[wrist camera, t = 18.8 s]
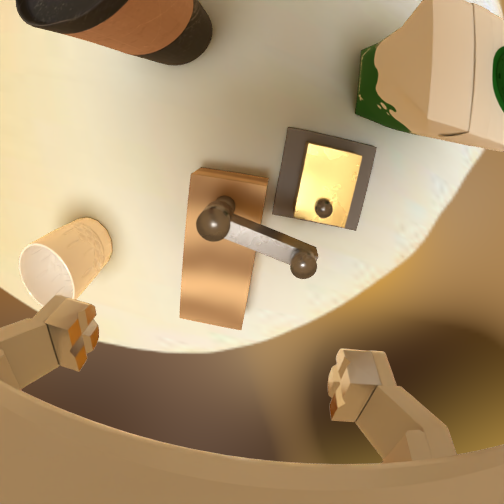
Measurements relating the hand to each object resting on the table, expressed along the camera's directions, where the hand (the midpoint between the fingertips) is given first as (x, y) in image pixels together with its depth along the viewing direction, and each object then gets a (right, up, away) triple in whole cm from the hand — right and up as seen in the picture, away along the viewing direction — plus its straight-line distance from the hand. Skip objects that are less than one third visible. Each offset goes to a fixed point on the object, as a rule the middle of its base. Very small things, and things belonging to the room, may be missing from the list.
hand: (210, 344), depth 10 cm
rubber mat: (+9, +10, +22) cm, 26 cm away
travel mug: (-6, +25, +17) cm, 31 cm away
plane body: (-2, +4, +26) cm, 26 cm away
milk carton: (+15, +19, +18) cm, 30 cm away
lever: (+2, +5, +17) cm, 18 cm away
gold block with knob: (+8, +10, +21) cm, 25 cm away
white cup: (-19, +4, +27) cm, 34 cm away
